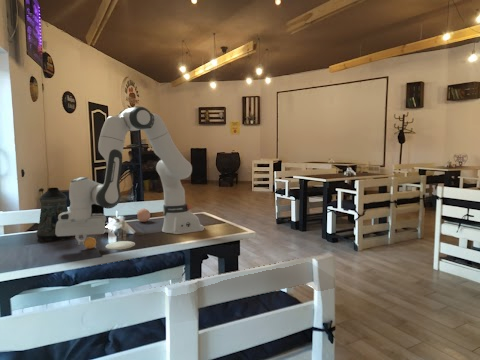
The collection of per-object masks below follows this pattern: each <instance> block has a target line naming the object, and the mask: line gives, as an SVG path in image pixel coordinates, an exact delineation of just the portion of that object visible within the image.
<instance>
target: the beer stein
mask: <svg viewBox="0 0 480 360" xmlns="http://www.w3.org/2000/svg"><path fill="white" fill-rule="evenodd" d="M67 200H68V196H67V195H66V194H65V193H64V192H62V191H61V190H59V188H58V187H49V188H48V189H47V190H46V191H45V192H44V193H43V194H42V195H41V196H40V197H39V202H40V204H41V205H40V213H39V222H38V227H37V231H36V237H37V240H38V241H40V242H45V243H46V242H50V243H51V242H57V241H64V240H68V239H70V238H73V236H57V235H56V234H55V229H56V223H57V222H58V220H59V219H58V215H59V214H61V213H63V212H66V211H69V209H68V205H67Z"/></svg>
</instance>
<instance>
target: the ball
mask: <svg viewBox="0 0 480 360" xmlns="http://www.w3.org/2000/svg"><path fill="white" fill-rule="evenodd" d="M96 244H97V240H96V238H94V237H86V239H85V240H84V245H83V246H84V247H85V248H86V249H93V248H95V247H96Z"/></svg>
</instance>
